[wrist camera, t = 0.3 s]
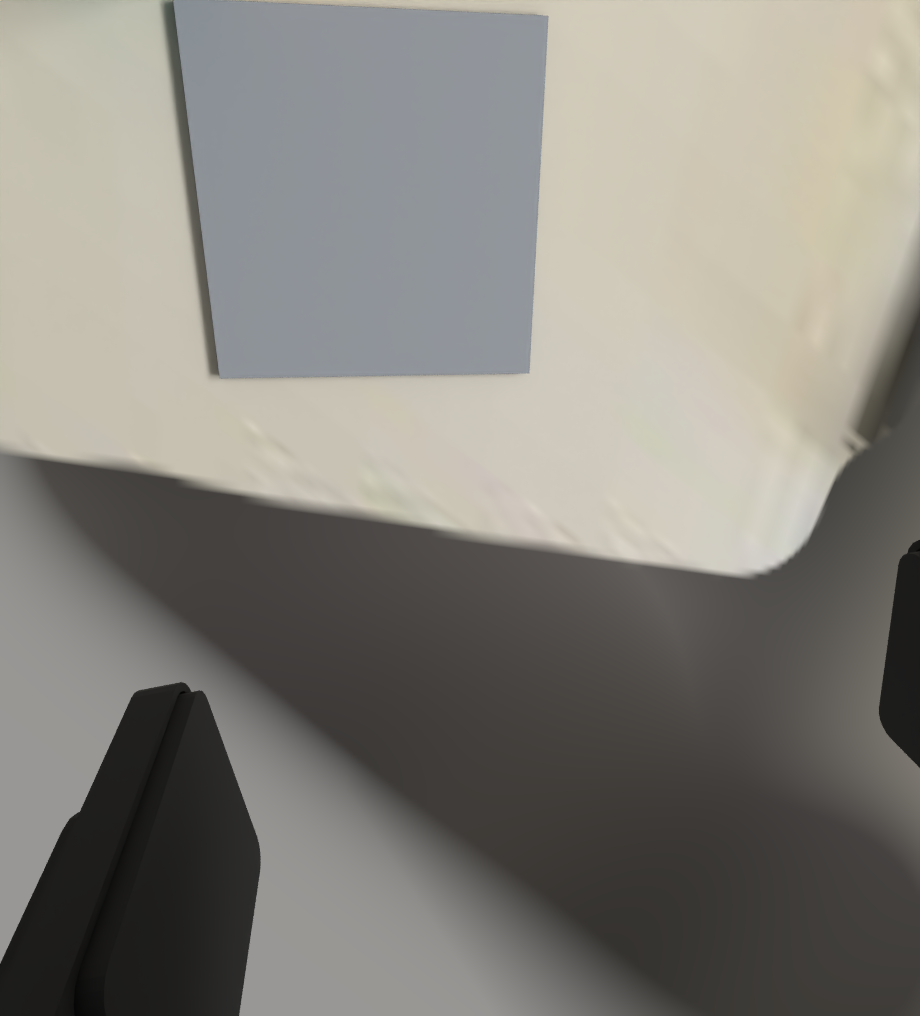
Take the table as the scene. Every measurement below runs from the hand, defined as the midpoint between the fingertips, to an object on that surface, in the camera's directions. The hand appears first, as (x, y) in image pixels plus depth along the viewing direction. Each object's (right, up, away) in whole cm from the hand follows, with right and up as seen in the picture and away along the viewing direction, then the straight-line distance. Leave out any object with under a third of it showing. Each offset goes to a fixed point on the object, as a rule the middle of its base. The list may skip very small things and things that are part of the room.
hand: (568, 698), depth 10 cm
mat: (-6, +17, +25) cm, 30 cm away
